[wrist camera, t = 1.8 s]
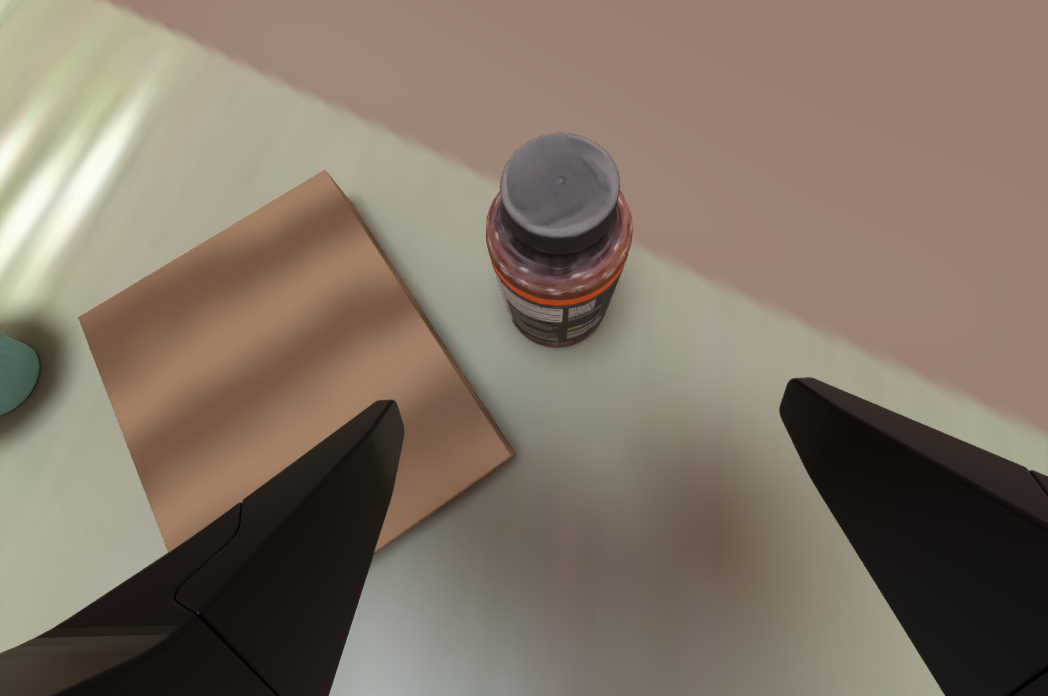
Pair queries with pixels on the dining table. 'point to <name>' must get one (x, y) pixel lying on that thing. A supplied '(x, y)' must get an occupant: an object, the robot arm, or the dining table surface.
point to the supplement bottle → (558, 237)
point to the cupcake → (16, 372)
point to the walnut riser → (282, 366)
